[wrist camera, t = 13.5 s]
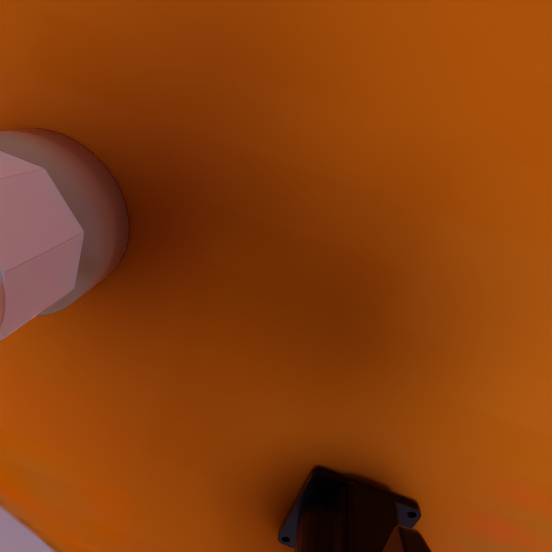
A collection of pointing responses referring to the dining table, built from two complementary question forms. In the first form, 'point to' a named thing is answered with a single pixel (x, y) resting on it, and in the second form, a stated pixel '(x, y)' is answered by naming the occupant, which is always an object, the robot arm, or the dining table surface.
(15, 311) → the cap
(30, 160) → the spice pot
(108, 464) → the dining table surface
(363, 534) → the robot arm
